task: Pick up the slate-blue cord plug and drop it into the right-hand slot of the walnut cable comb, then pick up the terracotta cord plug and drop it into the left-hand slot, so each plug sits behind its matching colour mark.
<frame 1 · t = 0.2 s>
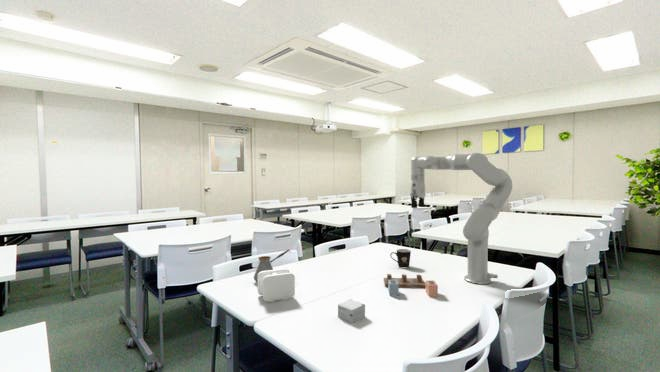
hand: (417, 207, 182), 37 cm above the table, tool pointing down, fingers open, 9 cm apart
small box: (351, 317, 121), on the table
slate plug: (393, 293, 145), on the table
coffee mug: (401, 266, 191), on the table
terracotta plug: (431, 294, 144), on the table
cable organizer: (276, 297, 142), on the table
coffee pot: (273, 280, 167), on the table
cable comb: (404, 284, 158), on the table
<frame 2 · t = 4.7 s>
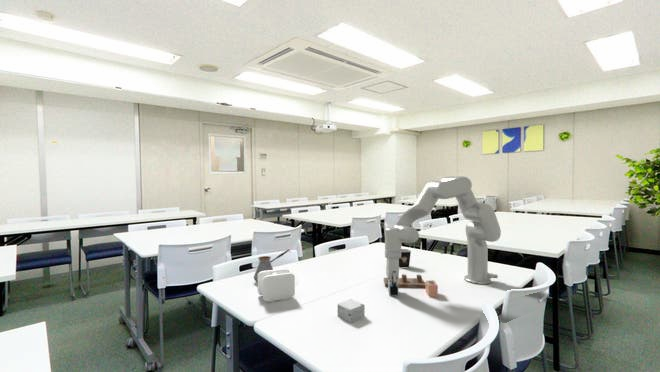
hand: (393, 291, 145), 1 cm above the table, tool pointing down, fingers closed on slate plug, 6 cm apart
slate plug: (393, 293, 145), on the table, touching gripper
everything else where it was.
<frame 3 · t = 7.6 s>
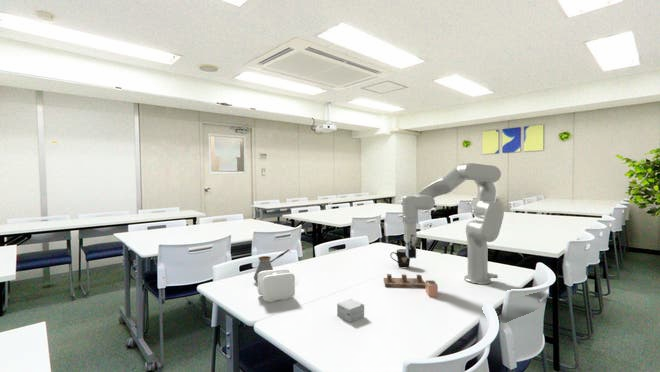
hand: (410, 255, 157), 15 cm above the table, tool pointing down, fingers closed on slate plug, 6 cm apart
slate plug: (410, 256, 157), point 14 cm above the table, touching gripper
everything else where it was.
when the fingers open (3 cm above the table, at t = 10.6 s): slate plug drops 1 cm, resting on cable comb.
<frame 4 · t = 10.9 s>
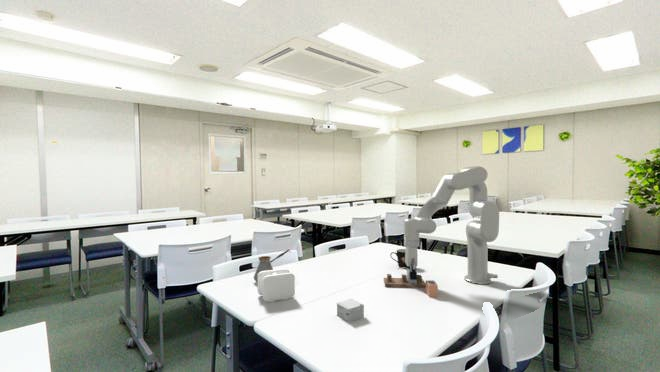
hand: (411, 276, 158), 4 cm above the table, tool pointing down, fingers open, 9 cm apart
slate plug: (411, 281, 158), point 1 cm above the table, touching cable comb
everything else where it was.
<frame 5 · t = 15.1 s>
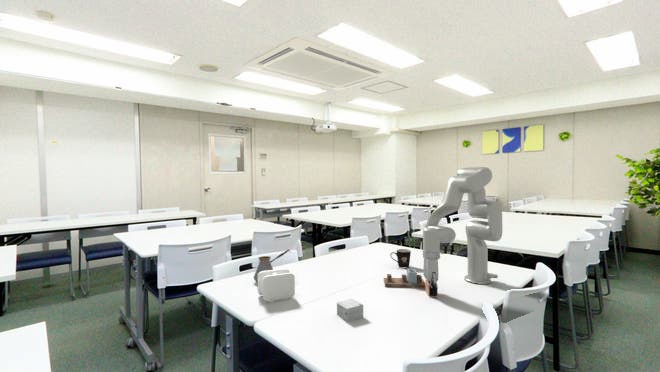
hand: (431, 292, 144), 1 cm above the table, tool pointing down, fingers closed on terracotta plug, 6 cm apart
terracotta plug: (431, 294, 144), on the table, touching gripper
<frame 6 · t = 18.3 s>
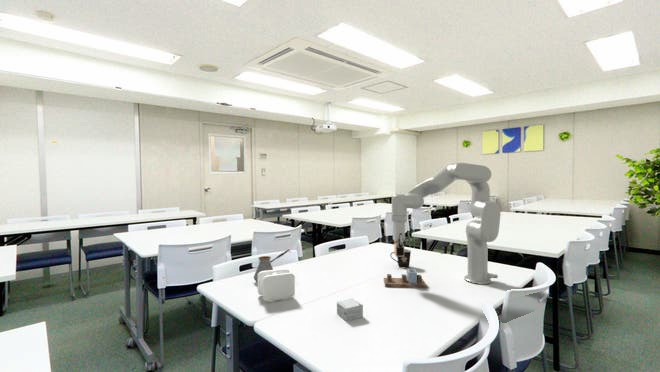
hand: (399, 253, 157), 16 cm above the table, tool pointing down, fingers closed on terracotta plug, 6 cm apart
terracotta plug: (399, 255, 157), point 15 cm above the table, touching gripper
when the fingers open (3 cm above the table, at t = 21.4 s): terracotta plug drops 1 cm, resting on cable comb.
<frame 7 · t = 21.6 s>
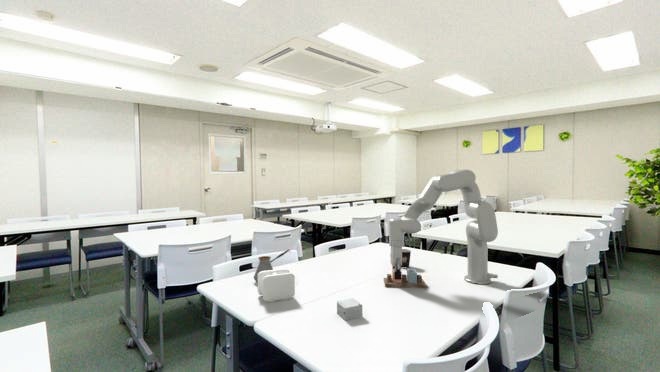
hand: (396, 276, 158), 4 cm above the table, tool pointing down, fingers open, 8 cm apart
terracotta plug: (396, 280, 159), point 1 cm above the table, touching cable comb
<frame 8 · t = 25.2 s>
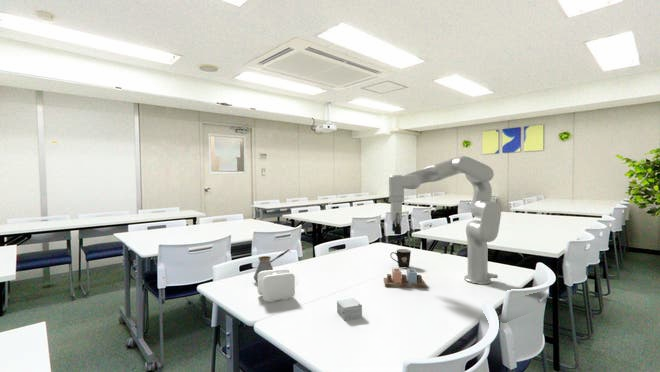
hand: (396, 232, 158), 26 cm above the table, tool pointing down, fingers open, 9 cm apart
at the end: slate plug 0.0 cm from the target spot on the cable comb, point 1.5 cm above the cable comb's base; terracotta plug 0.0 cm from the target spot on the cable comb, point 1.5 cm above the cable comb's base; terracotta plug tilted 0° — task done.
